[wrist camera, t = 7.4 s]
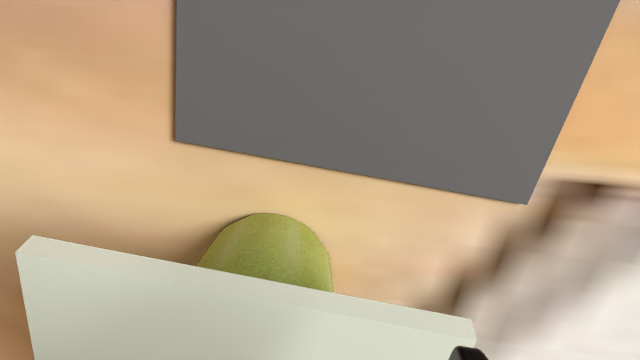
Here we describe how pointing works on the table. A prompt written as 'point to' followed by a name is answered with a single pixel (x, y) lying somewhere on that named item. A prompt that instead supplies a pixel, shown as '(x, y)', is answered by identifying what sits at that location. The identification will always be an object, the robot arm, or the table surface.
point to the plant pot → (271, 252)
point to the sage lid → (208, 313)
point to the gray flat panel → (388, 84)
